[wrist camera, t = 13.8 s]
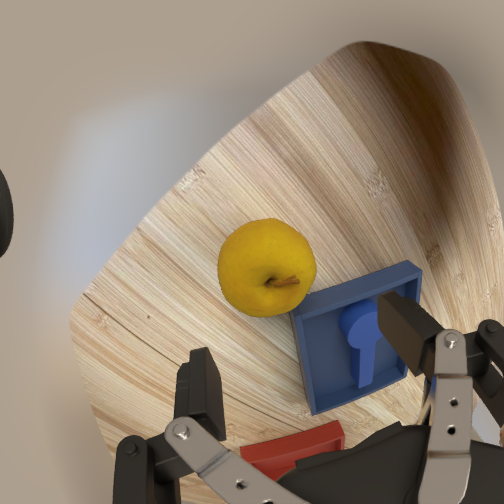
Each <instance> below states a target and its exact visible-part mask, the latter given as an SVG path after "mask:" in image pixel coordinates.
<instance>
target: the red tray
mask: <svg viewBox="0 0 504 504" xmlns="http://www.w3.org/2000/svg"><path fill="white" fill-rule="evenodd" d="M344 442H345V434H344V432H343V430H342V427H341V425H340V423H339V421H338V420H337V421H334V422H331V423H328V424H325V425H323V426H320V427H317V428H313V429H310V430H307V431H304V432H301V433H297V434H294V435H290V436H287V437H283V438H279V439H275V440H271V441H267V442H263V443H258V444H254V445H249V446H244V447H240V450H241V457H242V458H243V459H244V460H245V461H247V462H248V463H249V464H251V465H252V466H253V467H255V468H256V469H257V470H259V471H260V472H262V473H263V474H264V475H266V476H267V477H269V478H270V479H272V480H273V481H276V480H277V479H278V478H279V477H280V476H282V475H283V474H284V473H286V472H287V471H289V470H290V469H292V468H294V467H296V464H295V460H298V459H302V458H305V457H309V456H312V455H315V454H319V453H322V452H330V451H338V450H344Z"/></svg>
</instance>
